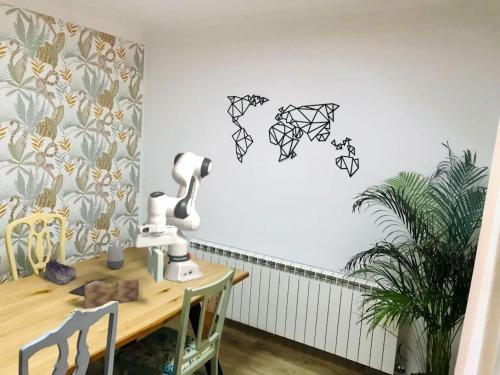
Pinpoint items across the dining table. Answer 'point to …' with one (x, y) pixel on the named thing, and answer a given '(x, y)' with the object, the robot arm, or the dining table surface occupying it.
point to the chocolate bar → (81, 289)
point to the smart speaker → (115, 258)
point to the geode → (59, 272)
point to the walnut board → (100, 295)
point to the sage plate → (156, 264)
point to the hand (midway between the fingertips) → (155, 254)
